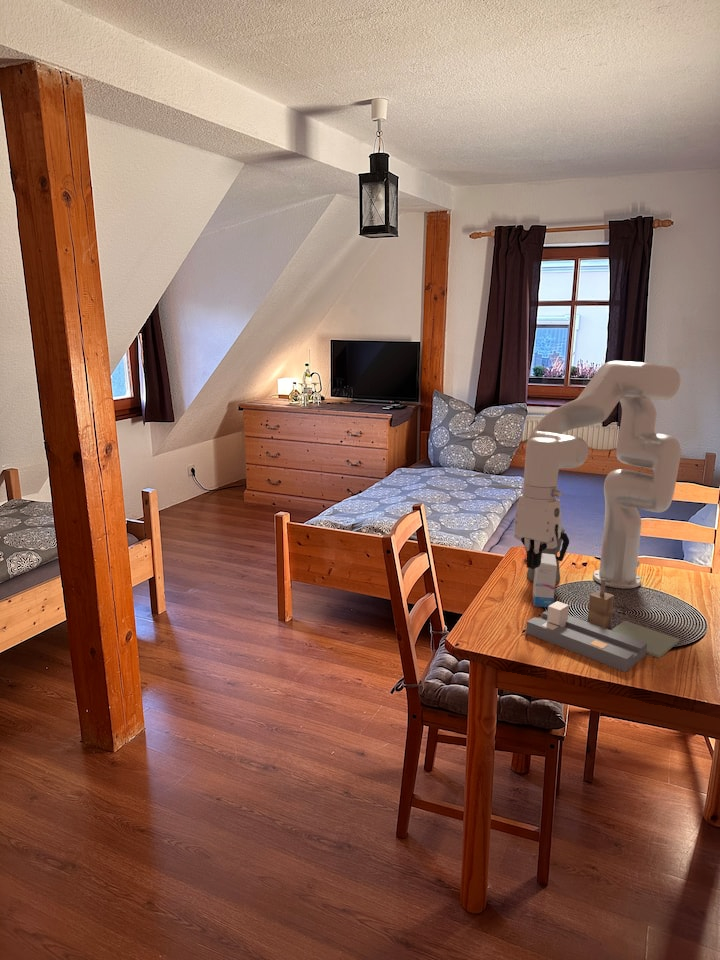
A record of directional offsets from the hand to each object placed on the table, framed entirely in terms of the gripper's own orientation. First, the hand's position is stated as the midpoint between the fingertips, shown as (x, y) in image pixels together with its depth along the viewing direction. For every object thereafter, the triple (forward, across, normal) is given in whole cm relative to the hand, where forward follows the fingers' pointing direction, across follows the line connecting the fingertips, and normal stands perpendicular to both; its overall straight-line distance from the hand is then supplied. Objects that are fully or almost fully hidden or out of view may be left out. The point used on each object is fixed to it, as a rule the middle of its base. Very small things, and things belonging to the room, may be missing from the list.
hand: (533, 566), depth 158 cm
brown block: (+14, -12, -12) cm, 22 cm away
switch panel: (+15, -14, -1) cm, 20 cm away
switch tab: (+13, -7, -1) cm, 14 cm away
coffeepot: (+14, +12, -28) cm, 34 cm away
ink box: (+15, +5, -15) cm, 22 cm away
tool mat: (+14, -22, -12) cm, 29 cm away
